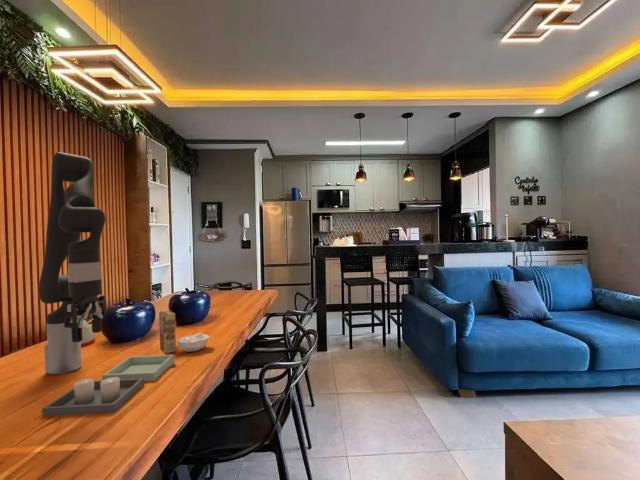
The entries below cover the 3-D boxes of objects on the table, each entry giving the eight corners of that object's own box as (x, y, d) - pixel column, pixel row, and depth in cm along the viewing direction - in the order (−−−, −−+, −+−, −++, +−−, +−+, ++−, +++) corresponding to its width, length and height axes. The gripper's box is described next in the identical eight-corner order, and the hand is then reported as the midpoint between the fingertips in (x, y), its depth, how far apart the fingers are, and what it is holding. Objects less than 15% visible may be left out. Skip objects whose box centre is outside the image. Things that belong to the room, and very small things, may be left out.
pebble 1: (70, 404, 88) (69, 386, 88) (81, 396, 93) (81, 378, 93) (87, 403, 88) (87, 385, 88) (98, 395, 93) (97, 377, 93)
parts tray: (42, 420, 83) (42, 408, 83) (84, 391, 98) (83, 381, 98) (114, 416, 83) (113, 404, 83) (144, 387, 99) (143, 378, 99)
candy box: (177, 351, 131) (175, 313, 131) (165, 354, 128) (164, 315, 128) (170, 345, 138) (169, 309, 137) (159, 348, 135) (158, 311, 135)
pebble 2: (97, 403, 89) (96, 384, 89) (107, 394, 93) (106, 377, 93) (114, 402, 89) (113, 383, 89) (123, 394, 93) (122, 376, 93)
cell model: (178, 348, 134) (177, 332, 134) (209, 344, 138) (208, 328, 138) (177, 357, 125) (176, 339, 124) (210, 352, 129) (209, 335, 129)
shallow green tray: (102, 386, 101) (102, 375, 101) (129, 366, 116) (129, 356, 116) (154, 384, 102) (154, 372, 101) (174, 364, 117) (174, 354, 117)
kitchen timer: (75, 350, 136) (73, 314, 136) (46, 349, 138) (45, 314, 138) (102, 339, 149) (101, 307, 149) (76, 339, 152) (75, 307, 151)
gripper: (87, 276, 98) (89, 330, 98) (51, 283, 84) (54, 346, 84) (113, 275, 98) (115, 329, 99) (82, 281, 84) (85, 344, 84)
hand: (87, 336), depth 91 cm, fingers open, 8 cm apart
